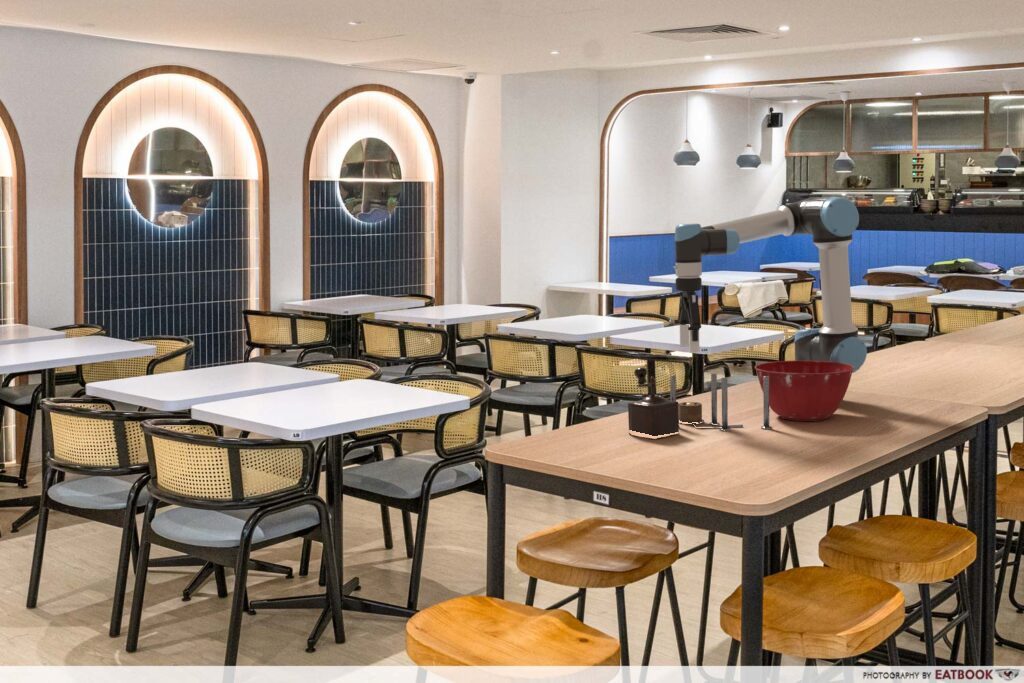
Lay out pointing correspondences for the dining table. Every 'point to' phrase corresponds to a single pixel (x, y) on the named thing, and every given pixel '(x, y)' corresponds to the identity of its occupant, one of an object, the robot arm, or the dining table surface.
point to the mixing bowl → (805, 387)
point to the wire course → (725, 401)
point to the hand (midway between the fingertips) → (689, 349)
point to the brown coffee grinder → (652, 411)
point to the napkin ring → (690, 412)
